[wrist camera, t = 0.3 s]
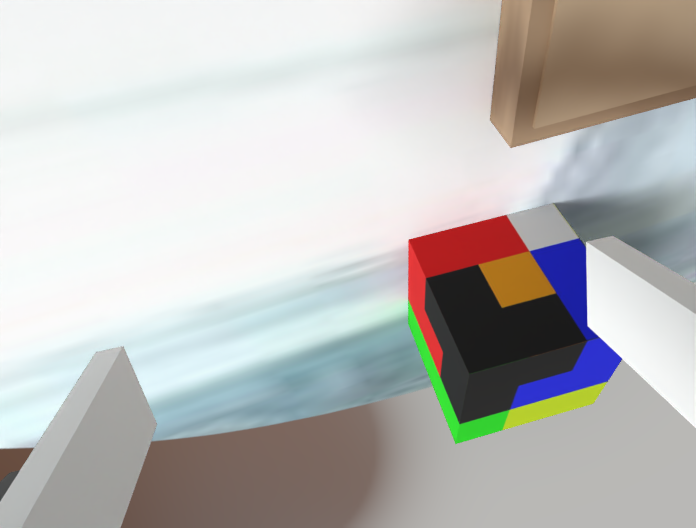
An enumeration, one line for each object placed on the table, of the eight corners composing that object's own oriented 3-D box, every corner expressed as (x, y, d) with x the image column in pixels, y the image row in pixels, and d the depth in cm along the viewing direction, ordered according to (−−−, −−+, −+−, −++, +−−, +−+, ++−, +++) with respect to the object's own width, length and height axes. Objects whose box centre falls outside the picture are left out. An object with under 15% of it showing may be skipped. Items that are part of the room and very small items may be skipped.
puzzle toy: (552, 202, 35) (644, 325, 28) (526, 291, 42) (593, 403, 36) (408, 238, 34) (469, 374, 27) (408, 323, 41) (455, 443, 35)
